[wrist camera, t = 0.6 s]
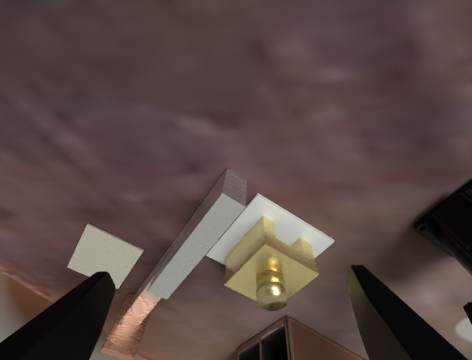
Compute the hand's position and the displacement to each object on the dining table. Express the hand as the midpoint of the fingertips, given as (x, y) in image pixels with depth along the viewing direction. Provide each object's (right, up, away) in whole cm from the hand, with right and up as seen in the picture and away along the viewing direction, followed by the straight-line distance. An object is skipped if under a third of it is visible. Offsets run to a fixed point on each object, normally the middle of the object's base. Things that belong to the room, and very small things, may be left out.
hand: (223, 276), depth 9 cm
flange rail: (-9, -2, +16) cm, 18 cm away
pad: (+4, -3, +16) cm, 16 cm away
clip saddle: (+4, -3, +15) cm, 16 cm away
